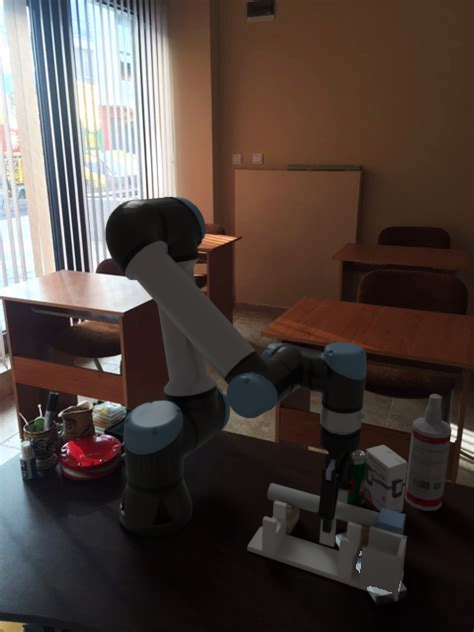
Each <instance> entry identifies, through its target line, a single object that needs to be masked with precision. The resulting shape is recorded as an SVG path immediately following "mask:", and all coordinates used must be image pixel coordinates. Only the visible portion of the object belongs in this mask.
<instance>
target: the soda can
mask: <svg viewBox="0 0 474 632" xmlns="http://www.w3.org/2000/svg"><path fill="white" fill-rule="evenodd" d="M366 466H367V458H366V452H364V451H363V450H361V449H359V448H358V449H357V450H356V451H354V452H352V476H351V478H352V480H351V481H349V484H353V487H352V490H350V489H346V490H348V500H347V504H349V505H353V506H357V507H360V508H361V507H362V506H363V505H364V499H365V497H364V489H365V478H366Z"/></svg>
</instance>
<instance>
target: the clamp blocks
mask: <svg viewBox="0 0 474 632" xmlns="http://www.w3.org/2000/svg"><path fill="white" fill-rule="evenodd" d="M299 519H300V508H298V507H294V506H292V505H289V504H287V519H286V534H287V535H291V534H292V531H293V530H294V528H295V526H296V524H297V523H298V521H299ZM369 530H370V528H368V527H365V526H362V531H361V542H360V551H362V548H363V547H366V548H367V546H368V541H369Z"/></svg>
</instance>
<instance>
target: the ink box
mask: <svg viewBox="0 0 474 632" xmlns="http://www.w3.org/2000/svg"><path fill="white" fill-rule="evenodd" d="M365 450H366V451H365V455H366V458H367V466H366V478H365V489H364V499H366V500H367V501H369V503H370V504H372V505H373V506H374V507H375V508H376V509H377V510H378V511H379V513H380V512H381V509H382V508H384V509H388V510H391V511H395V512H399V513H402V511H403V510H404V500H405V489H406V480H407V471H408V462H407V461H406V460H405V459H404V458H403V457H402V456H400V455H399V454H398V453H396V452H395V451H394V450H392V449H391V448H390V447H388V446H386V445H385V444H381V445H378V446H372V447H370V448H366V449H365Z"/></svg>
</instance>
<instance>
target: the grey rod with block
mask: <svg viewBox="0 0 474 632" xmlns="http://www.w3.org/2000/svg"><path fill="white" fill-rule="evenodd" d="M266 497H267V500H271V501H273V502H275V500H276V501H280V502H283V503H287V504H289V505H292V506H294V507H298V508H299V509H301V510H305V511H309V512H312V513H316V514H317V511H319V502H320V495H316V494H312V493H310V492H305V491H302V490H299V489H295V488H291V487H287V486H285V485H281V484H278V483H274V482H272V483H270V484H269V487H268V489H267V496H266ZM335 515H337V516H336V520H339V521H343V522H347V523H349V522H352V523H356V524H359V525H362V526H365V527H368V528H370V526H372V527H376V528H379V529H383V530H386V531H389V532H393V533H396V534H400V535H404V530H405V524H406V523H405V522H406V515H407V514H406V513H402V512H395V511H391V510H388V509H384V508H382V509H381V512H380V511H379V512H378V511H375V510H371V509H367V508H364V507H361V506H360V507H357V506H353V505H349V504H346V503H342V502H339V501H337V505H336V511H335Z"/></svg>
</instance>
